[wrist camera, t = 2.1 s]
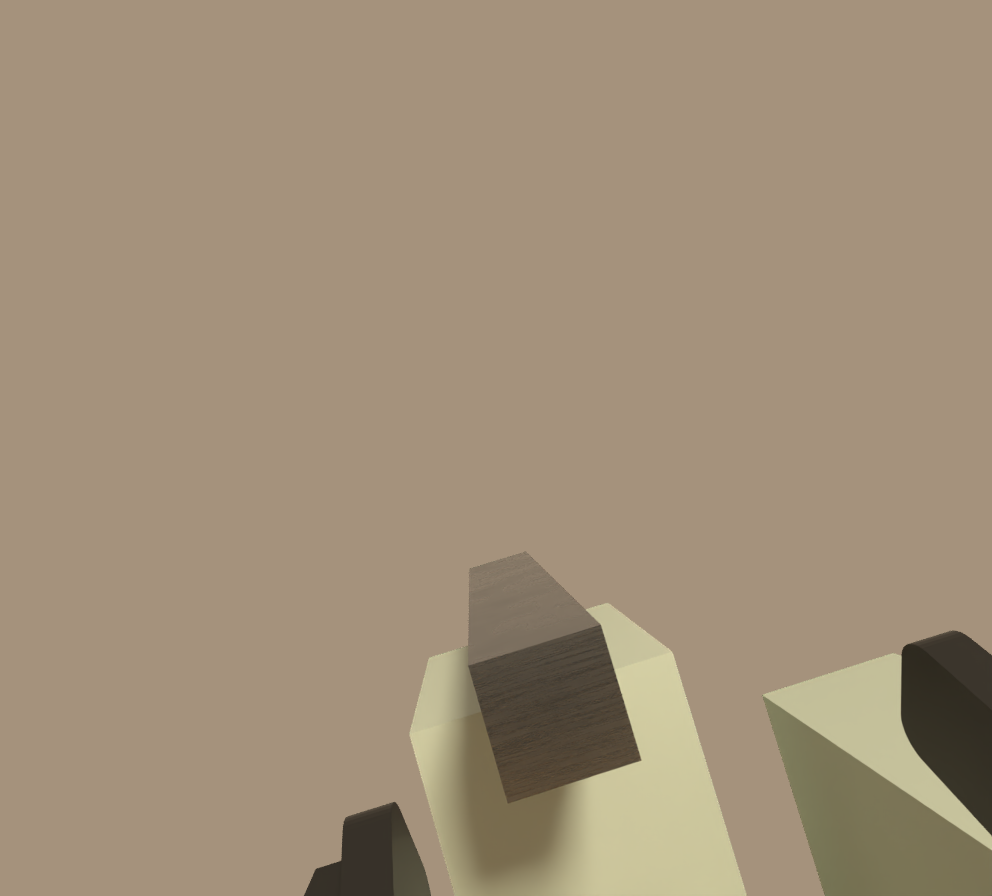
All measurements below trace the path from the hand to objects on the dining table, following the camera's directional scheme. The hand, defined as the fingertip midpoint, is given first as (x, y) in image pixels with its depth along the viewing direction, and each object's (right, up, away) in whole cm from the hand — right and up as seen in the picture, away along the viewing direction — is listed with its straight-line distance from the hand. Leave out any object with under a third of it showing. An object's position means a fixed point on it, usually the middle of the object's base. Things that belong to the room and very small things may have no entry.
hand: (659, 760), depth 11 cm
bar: (-1, -4, +19) cm, 19 cm away
